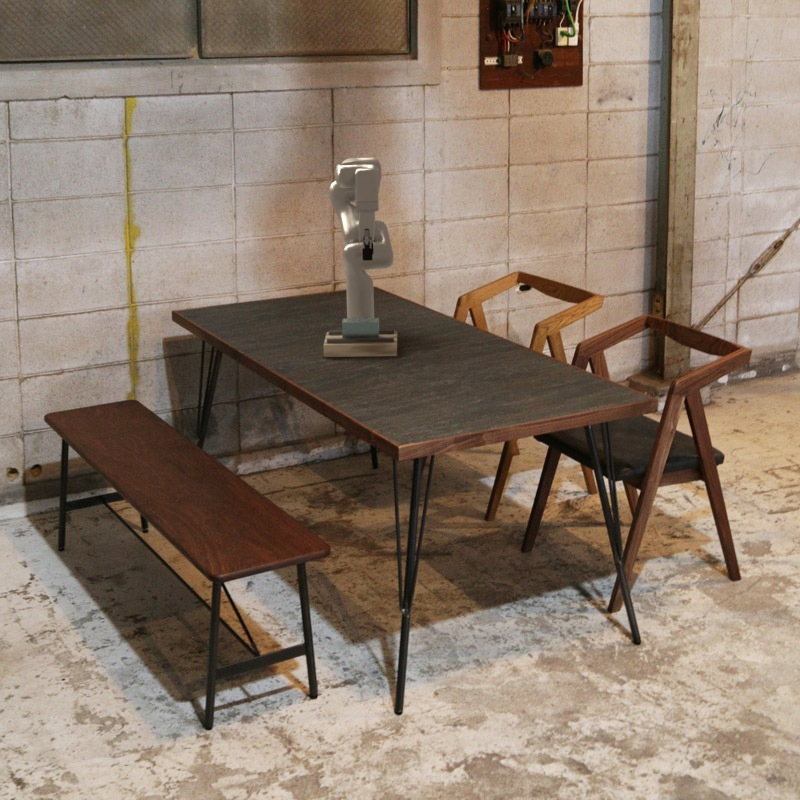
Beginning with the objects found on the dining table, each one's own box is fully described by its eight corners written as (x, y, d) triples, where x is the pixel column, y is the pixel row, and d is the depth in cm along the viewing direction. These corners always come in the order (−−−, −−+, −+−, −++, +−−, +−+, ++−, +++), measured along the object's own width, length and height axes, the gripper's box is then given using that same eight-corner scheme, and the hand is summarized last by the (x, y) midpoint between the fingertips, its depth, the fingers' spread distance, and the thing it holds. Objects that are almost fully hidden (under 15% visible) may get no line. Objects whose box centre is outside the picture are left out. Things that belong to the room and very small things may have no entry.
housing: (379, 335, 434) (378, 318, 432) (378, 339, 428) (378, 322, 426) (343, 336, 434) (342, 318, 432) (342, 340, 428) (342, 322, 426)
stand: (327, 343, 441) (326, 328, 439) (397, 342, 440) (397, 327, 439) (323, 357, 423) (323, 341, 422) (396, 355, 423) (396, 340, 422)
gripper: (356, 202, 433) (358, 252, 438) (354, 210, 417) (355, 262, 422) (379, 201, 433) (380, 252, 438) (377, 210, 416) (378, 262, 422)
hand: (368, 257), depth 430 cm, fingers open, 9 cm apart
